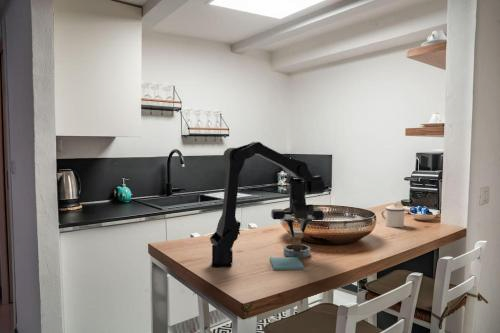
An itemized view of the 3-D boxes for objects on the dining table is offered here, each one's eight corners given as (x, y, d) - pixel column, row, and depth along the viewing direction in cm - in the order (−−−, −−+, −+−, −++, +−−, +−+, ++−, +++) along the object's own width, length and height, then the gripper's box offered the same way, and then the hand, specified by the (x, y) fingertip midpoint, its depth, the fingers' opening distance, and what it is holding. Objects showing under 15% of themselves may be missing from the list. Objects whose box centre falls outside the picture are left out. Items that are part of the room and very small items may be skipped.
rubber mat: (273, 270, 115) (273, 267, 115) (269, 260, 125) (269, 257, 125) (304, 269, 116) (304, 266, 116) (297, 259, 126) (297, 257, 126)
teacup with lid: (407, 226, 178) (408, 203, 177) (397, 228, 172) (398, 205, 171) (386, 222, 187) (387, 200, 186) (376, 224, 182) (376, 201, 181)
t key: (305, 256, 129) (305, 232, 128) (292, 257, 129) (292, 232, 128) (301, 251, 136) (301, 228, 135) (288, 251, 136) (288, 228, 135)
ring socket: (286, 258, 127) (286, 251, 127) (281, 250, 137) (281, 244, 137) (312, 257, 128) (312, 251, 128) (306, 249, 137) (306, 243, 137)
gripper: (275, 198, 122) (275, 243, 123) (328, 198, 124) (328, 242, 125) (271, 194, 133) (270, 235, 134) (319, 193, 135) (319, 234, 136)
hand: (297, 236), depth 132 cm, fingers closed on t key, 3 cm apart
